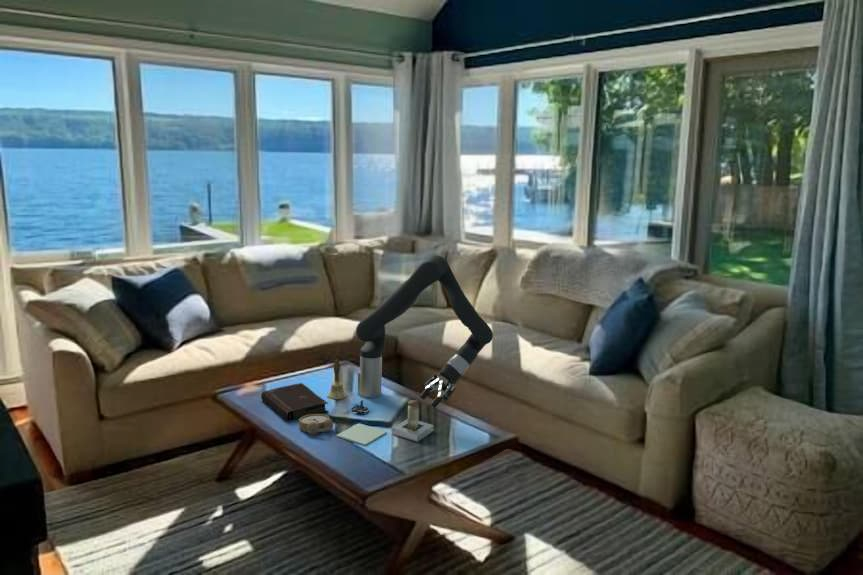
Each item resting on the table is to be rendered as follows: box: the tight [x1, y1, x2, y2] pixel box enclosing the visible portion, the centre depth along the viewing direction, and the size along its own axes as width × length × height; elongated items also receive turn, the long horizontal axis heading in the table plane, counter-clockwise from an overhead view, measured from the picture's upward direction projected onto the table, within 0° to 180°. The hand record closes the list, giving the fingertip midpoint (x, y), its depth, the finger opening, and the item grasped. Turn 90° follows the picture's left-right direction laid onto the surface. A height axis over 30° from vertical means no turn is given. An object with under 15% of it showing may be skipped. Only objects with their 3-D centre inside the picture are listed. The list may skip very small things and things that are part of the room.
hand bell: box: [326, 359, 348, 400], centre depth 270 cm, size 8×8×16 cm
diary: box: [260, 382, 329, 423], centre depth 258 cm, size 19×25×5 cm
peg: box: [407, 399, 420, 431], centre depth 237 cm, size 4×4×12 cm
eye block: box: [391, 418, 434, 442], centre depth 238 cm, size 11×11×2 cm
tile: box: [336, 423, 388, 447], centre depth 235 cm, size 13×13×1 cm
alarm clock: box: [298, 413, 334, 436], centre depth 238 cm, size 11×5×15 cm
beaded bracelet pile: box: [351, 399, 369, 413], centre depth 256 cm, size 8×7×8 cm
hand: (426, 402), depth 239 cm, fingers open, 8 cm apart
